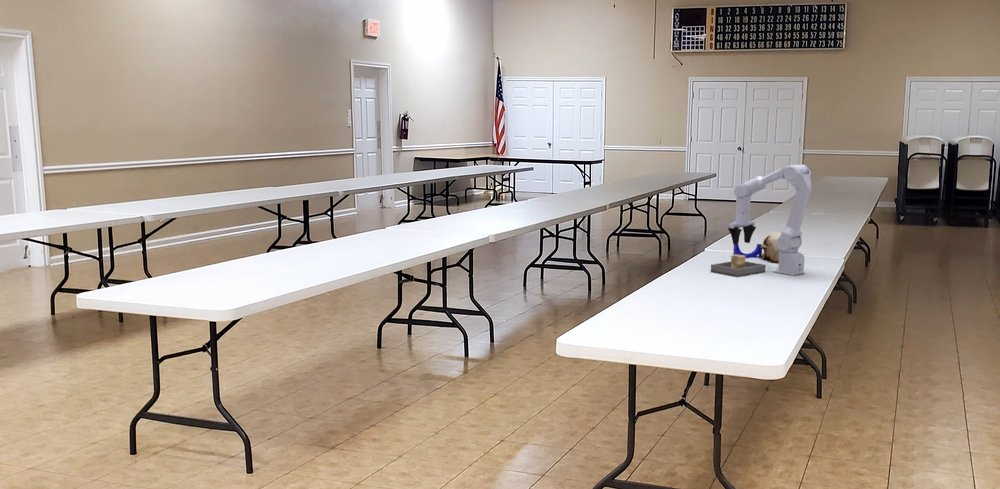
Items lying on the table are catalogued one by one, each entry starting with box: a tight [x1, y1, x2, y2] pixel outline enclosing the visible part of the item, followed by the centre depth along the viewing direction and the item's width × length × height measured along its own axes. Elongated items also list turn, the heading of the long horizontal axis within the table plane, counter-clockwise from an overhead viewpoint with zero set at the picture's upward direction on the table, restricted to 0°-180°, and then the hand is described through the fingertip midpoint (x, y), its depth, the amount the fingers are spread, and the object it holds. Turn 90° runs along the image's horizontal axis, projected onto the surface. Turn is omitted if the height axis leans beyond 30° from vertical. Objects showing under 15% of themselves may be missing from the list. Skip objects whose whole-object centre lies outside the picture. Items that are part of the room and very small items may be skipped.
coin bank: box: [760, 231, 781, 264], centre depth 372 cm, size 16×17×13 cm
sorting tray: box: [710, 260, 767, 278], centre depth 345 cm, size 14×18×3 cm
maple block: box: [730, 254, 747, 269], centre depth 345 cm, size 4×4×6 cm
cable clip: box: [732, 243, 763, 259], centre depth 379 cm, size 12×4×6 cm, turn 88°
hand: (741, 243), depth 359 cm, fingers open, 7 cm apart
